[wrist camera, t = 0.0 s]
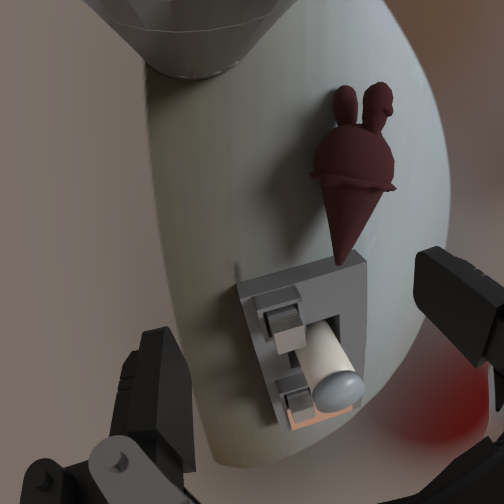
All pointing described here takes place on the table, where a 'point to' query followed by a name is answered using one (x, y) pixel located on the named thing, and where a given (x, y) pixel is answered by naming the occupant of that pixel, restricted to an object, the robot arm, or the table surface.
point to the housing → (310, 310)
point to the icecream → (354, 164)
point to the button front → (286, 329)
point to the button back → (301, 405)
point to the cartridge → (328, 369)
